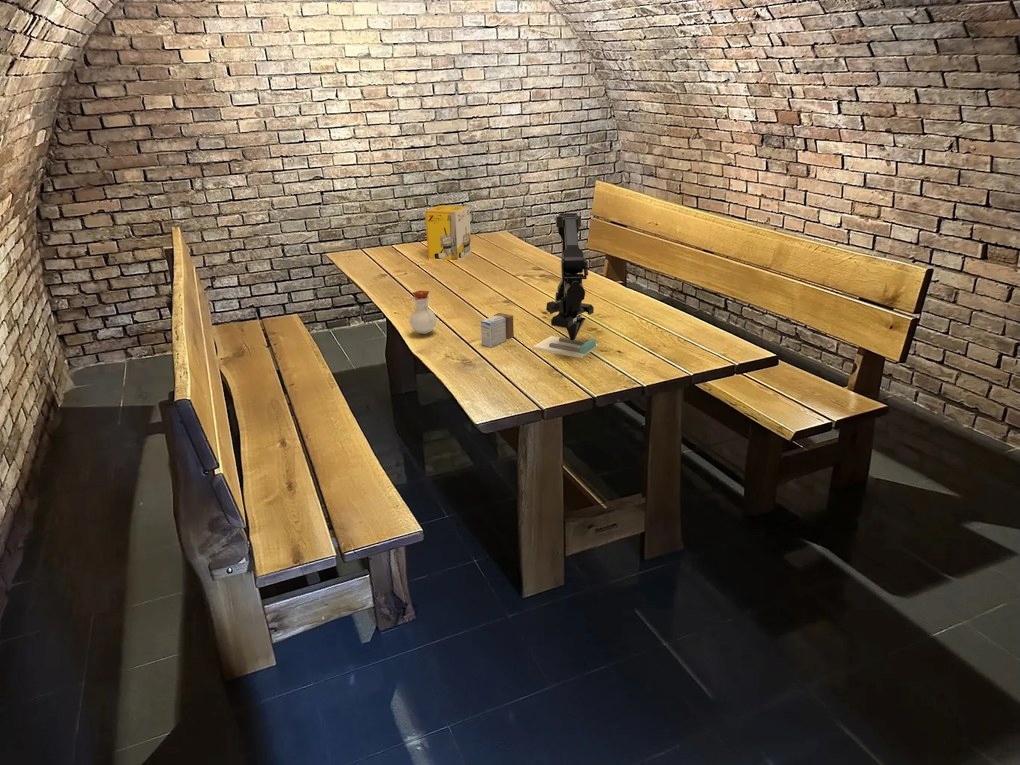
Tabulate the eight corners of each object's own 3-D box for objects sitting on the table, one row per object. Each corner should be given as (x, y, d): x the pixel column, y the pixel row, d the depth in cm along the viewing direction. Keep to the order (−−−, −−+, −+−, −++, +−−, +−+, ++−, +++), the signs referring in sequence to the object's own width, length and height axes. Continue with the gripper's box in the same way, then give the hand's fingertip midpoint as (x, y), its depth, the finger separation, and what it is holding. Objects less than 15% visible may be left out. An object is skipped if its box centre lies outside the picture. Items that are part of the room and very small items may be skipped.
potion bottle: (439, 336, 256) (437, 294, 251) (412, 339, 254) (408, 297, 248) (435, 328, 265) (432, 288, 259) (408, 331, 262) (405, 290, 257)
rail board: (551, 339, 251) (551, 329, 249) (598, 347, 242) (598, 337, 240) (533, 349, 242) (533, 339, 240) (581, 359, 232) (581, 348, 231)
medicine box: (496, 338, 253) (495, 315, 249) (506, 341, 250) (505, 317, 246) (481, 345, 247) (480, 320, 244) (491, 347, 244) (490, 323, 241)
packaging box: (458, 264, 355) (455, 212, 345) (428, 261, 360) (424, 210, 350) (471, 256, 368) (469, 206, 359) (442, 254, 374) (439, 205, 364)
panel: (498, 312, 254) (513, 315, 251) (499, 334, 257) (513, 337, 254) (493, 315, 251) (508, 317, 248) (494, 337, 254) (509, 339, 251)
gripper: (565, 284, 244) (564, 328, 250) (536, 297, 230) (536, 344, 236) (594, 288, 239) (593, 333, 245) (567, 302, 224) (567, 350, 230)
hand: (572, 340), depth 239 cm, fingers closed
